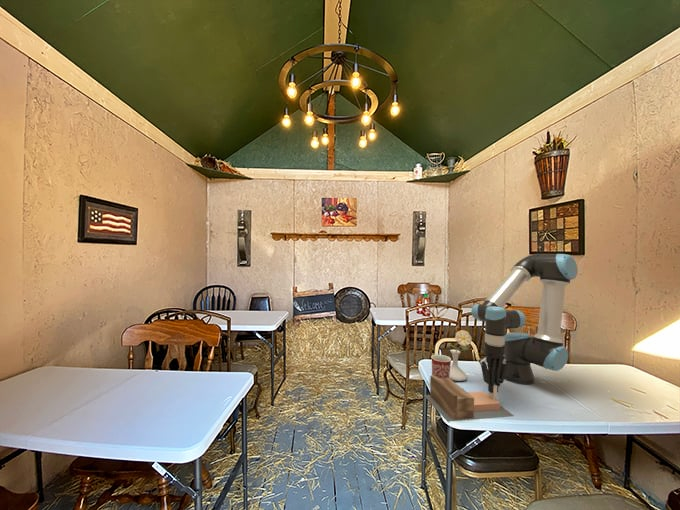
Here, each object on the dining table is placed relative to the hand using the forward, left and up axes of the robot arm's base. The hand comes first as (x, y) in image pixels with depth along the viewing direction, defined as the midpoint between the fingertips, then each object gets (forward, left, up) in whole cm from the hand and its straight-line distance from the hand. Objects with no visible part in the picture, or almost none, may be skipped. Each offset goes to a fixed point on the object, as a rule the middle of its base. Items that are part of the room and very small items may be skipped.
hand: (493, 399), depth 122 cm
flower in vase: (+1, -25, -2) cm, 25 cm away
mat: (+12, 0, -2) cm, 12 cm away
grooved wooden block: (+19, 0, -1) cm, 20 cm away
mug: (+13, -20, -2) cm, 24 cm away
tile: (+8, 0, -1) cm, 8 cm away
